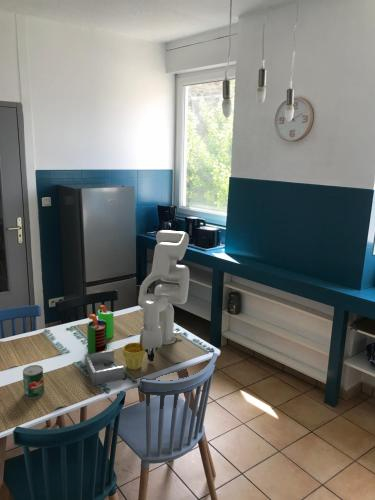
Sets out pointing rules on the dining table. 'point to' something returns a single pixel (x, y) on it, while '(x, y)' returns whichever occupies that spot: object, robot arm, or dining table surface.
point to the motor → (96, 335)
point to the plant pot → (133, 355)
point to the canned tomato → (33, 381)
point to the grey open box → (105, 374)
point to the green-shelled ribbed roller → (109, 318)
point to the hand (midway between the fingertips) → (150, 360)
